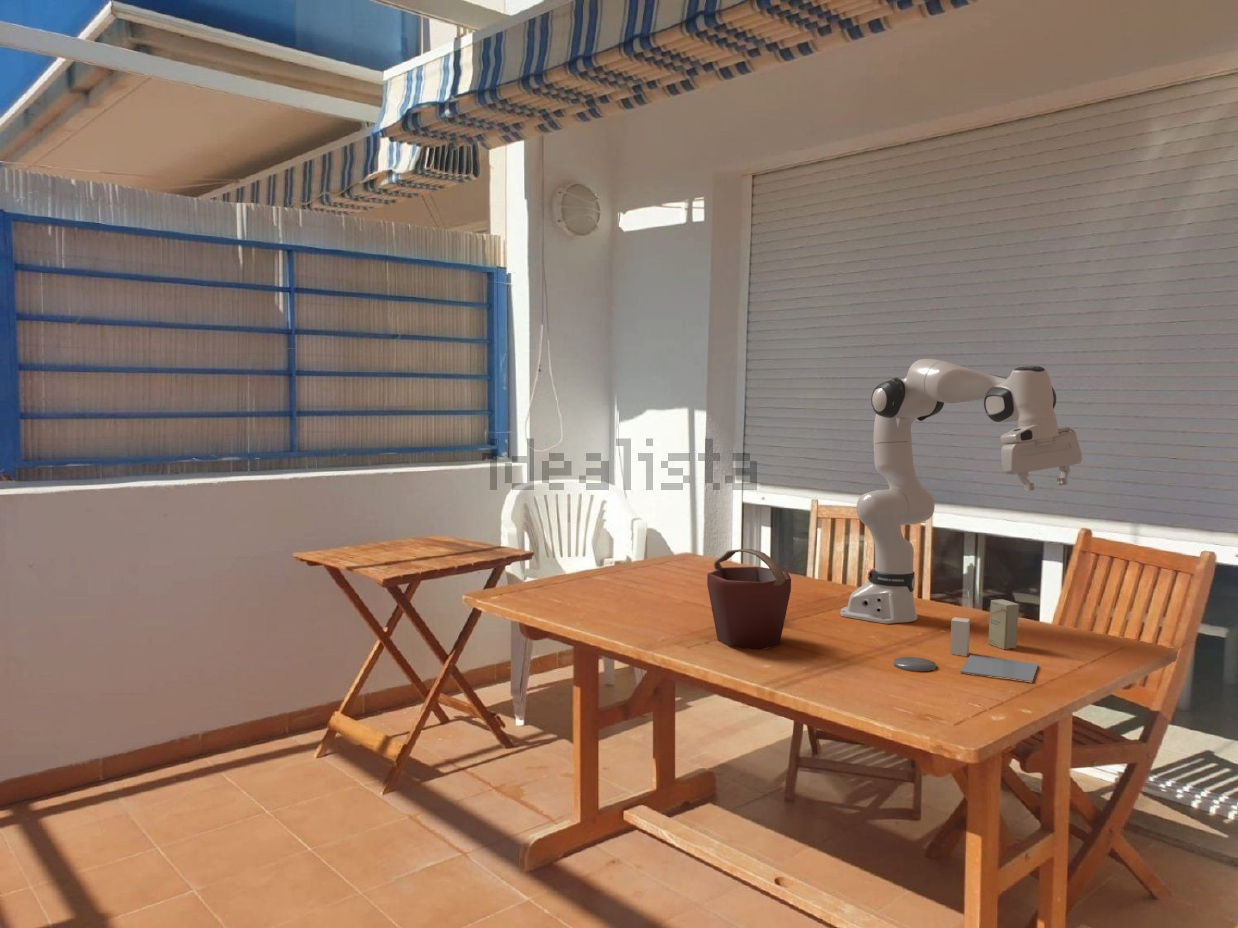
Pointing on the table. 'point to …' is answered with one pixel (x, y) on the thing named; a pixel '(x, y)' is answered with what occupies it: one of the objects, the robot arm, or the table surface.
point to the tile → (1000, 668)
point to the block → (960, 636)
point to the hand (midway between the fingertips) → (1046, 487)
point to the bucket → (749, 602)
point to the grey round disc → (914, 664)
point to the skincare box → (1003, 624)
